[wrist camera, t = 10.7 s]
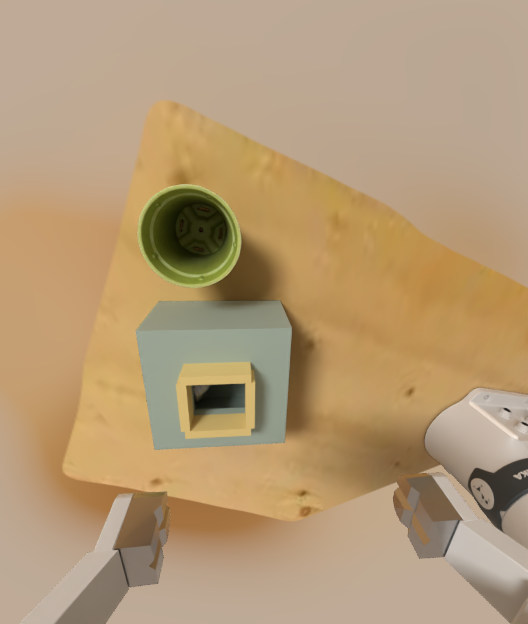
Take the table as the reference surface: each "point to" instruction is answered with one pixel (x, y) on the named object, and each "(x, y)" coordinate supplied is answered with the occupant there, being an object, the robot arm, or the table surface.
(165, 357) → the box with square opening
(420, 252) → the table surface
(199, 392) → the cylinder
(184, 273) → the plant pot
